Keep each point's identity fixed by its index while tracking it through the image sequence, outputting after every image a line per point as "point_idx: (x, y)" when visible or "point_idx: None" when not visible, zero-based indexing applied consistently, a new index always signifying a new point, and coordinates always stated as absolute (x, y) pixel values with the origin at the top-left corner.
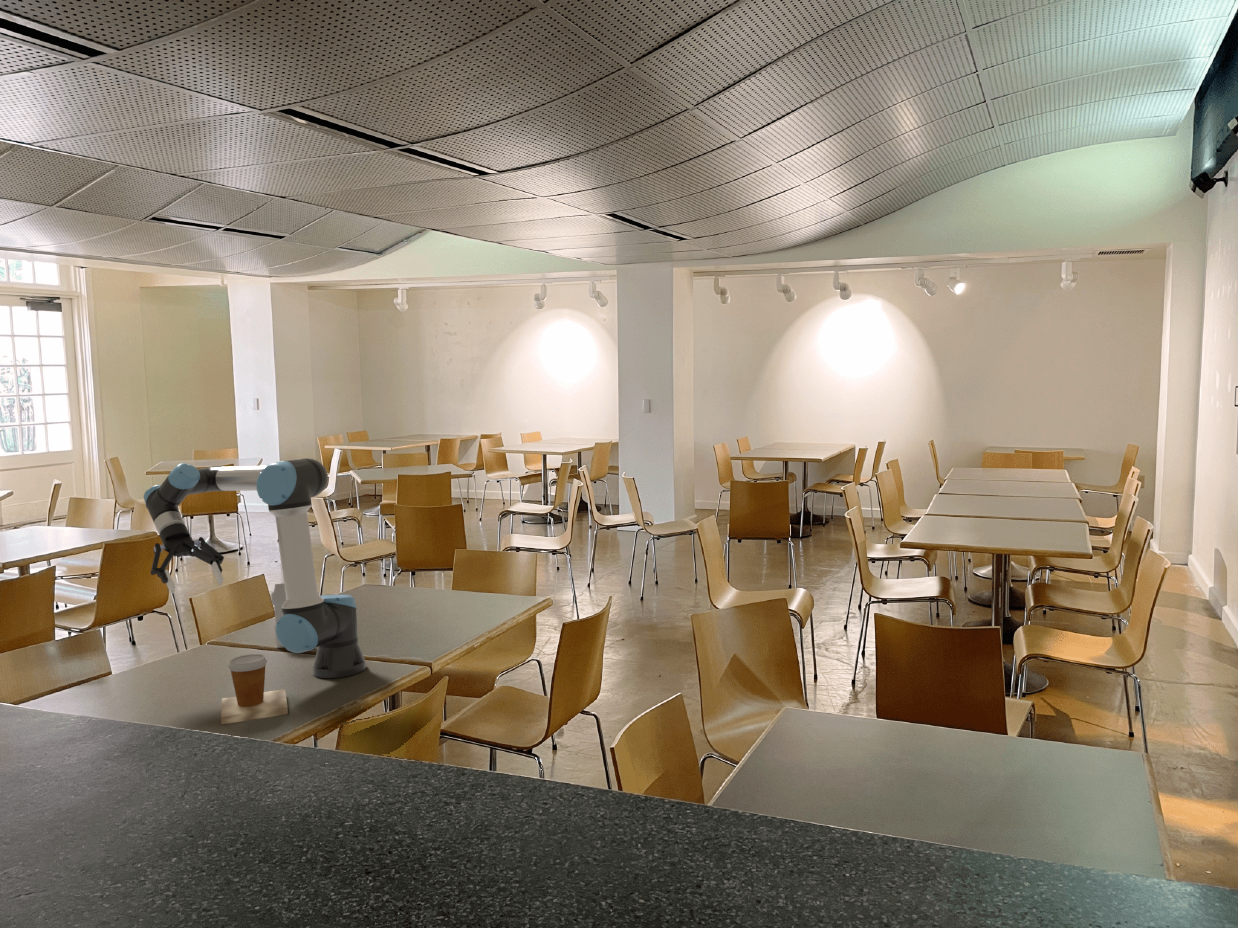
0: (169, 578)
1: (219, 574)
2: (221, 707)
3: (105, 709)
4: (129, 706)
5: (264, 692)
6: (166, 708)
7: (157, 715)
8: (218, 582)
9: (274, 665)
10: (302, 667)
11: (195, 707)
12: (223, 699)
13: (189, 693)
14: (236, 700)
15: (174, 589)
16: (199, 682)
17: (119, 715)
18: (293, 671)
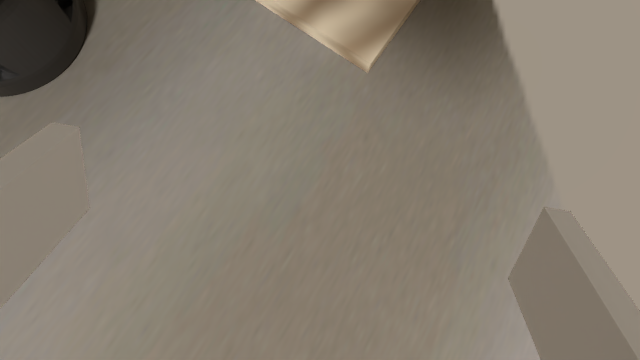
0: (623, 298)
1: (35, 156)
2: (413, 4)
3: None
4: (511, 308)
5: (284, 4)
6: (460, 189)
7: (500, 158)
8: (78, 206)
9: None
10: None
11: (413, 124)
12: (374, 52)
13: (354, 255)
14: (361, 16)
15: (533, 232)
16: (273, 334)
17: None
18: None
